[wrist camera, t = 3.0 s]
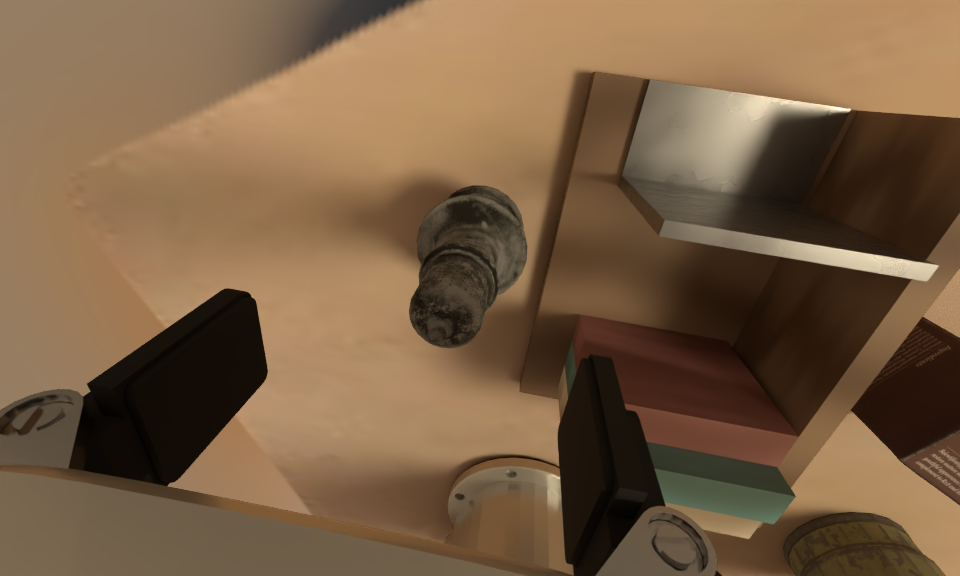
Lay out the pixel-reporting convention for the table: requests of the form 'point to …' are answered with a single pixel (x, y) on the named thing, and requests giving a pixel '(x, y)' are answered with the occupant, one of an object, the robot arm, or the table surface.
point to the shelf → (740, 308)
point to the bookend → (746, 178)
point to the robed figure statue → (855, 548)
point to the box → (920, 406)
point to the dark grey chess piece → (465, 263)
